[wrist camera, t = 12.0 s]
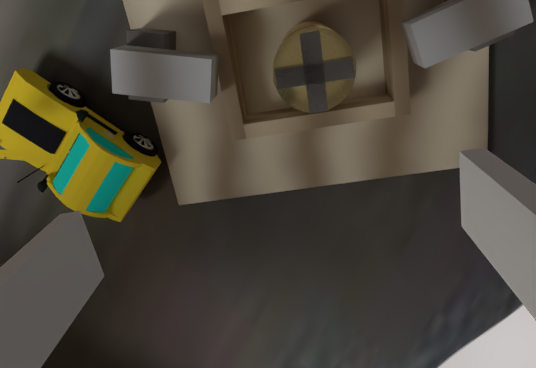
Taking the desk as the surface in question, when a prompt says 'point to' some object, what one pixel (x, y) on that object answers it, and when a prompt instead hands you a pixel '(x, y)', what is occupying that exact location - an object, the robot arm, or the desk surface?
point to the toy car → (74, 147)
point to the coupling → (313, 67)
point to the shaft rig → (304, 123)
